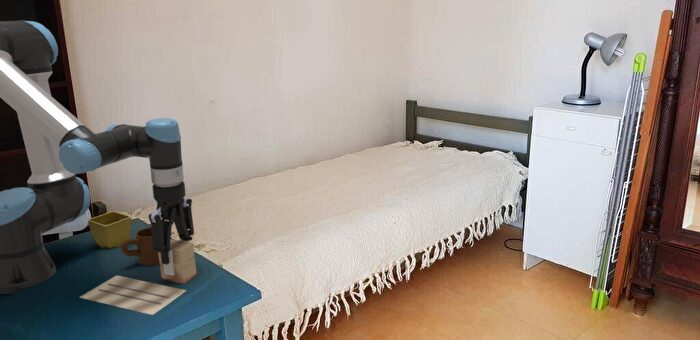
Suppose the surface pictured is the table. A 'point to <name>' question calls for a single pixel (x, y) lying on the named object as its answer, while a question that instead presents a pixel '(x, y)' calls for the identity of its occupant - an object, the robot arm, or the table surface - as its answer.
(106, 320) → the table surface
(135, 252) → the mug
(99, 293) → the board
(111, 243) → the flower pot
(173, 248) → the block
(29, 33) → the robot arm
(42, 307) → the table surface
